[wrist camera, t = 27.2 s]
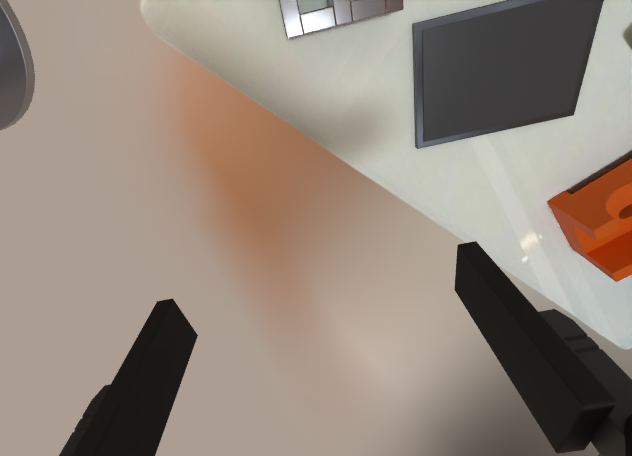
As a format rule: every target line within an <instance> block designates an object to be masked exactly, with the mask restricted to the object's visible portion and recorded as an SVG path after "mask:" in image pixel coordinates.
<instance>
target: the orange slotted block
mask: <svg viewBox="0 0 632 456" xmlns="http://www.w3.org/2000/svg"><path fill="white" fill-rule="evenodd" d="M547 202H548V204H549V206H550V208H551V210H552V212H553V213H554V215H555V217H556V219H557V221H558V223H559V225H560V227H561V228H562V230H563V232H564V234H565V236H566V238H567V240H568V242H569V243H570V245H571V247H572V249H573V250H575V251H576V252H577V253H579V254H580V255H581V256H583V257H584V258H585V259H587V260H588V261H589V262H591V263H592V264H593V265H595V266H596V267H597V268H599V269H600V270H601V271H603V272H604V273H605V274H606V275H608V276H609V277H610V278H612V279H613V280H614V281H616V282H617V281H619V280H621V279H623V278H626V277H628V276H630V275H632V158H631V159H629V160H628V161H626V162H624V163H623V164H621V165H620V166H618V167H616V168H615V169H613V170H611V171H610V172H608V173H606V174H605V175H603V176H601V177H600V178H598V179H596V180H595V181H593V182H592V183H590V184H588V185H587V186H585V187H583V188H582V189H580V190H578V191H577V192H575V193H573V194H570V193H568V192H566V191H563V192H562V193H560V194H559V195H557V196H555V197H554V198H552V199H550V200H549V201H547Z"/></svg>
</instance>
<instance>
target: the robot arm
mask: <svg viewBox="0 0 632 456" xmlns="http://www.w3.org/2000/svg"><path fill="white" fill-rule="evenodd" d="M455 291H456V293H457V294H458V296H459V297H460V299H461V301H462V302H463V304H464V306H465V307H466V309H467V310H468V312H469V314H470V315H471V317H472V318H473V320H474V322H475V323H476V325H477V326H478V328H479V329H480V331H481V333H482V334H483V336H484V338H485V339H486V341H487V343H488V344H489V345H490V347H491V349H492V351H493V352H494V354H495V355H496V357H497V359H498V360H499V362H500V363H501V365H502V367H503V368H504V370H505V371H506V373H507V375H508V376H509V378H510V379H511V381H512V383H513V384H514V386H515V387H516V389H517V391H518V392H519V394H520V395H521V397H522V399H523V400H524V402H525V403H526V405H527V407H528V408H529V410H530V411H531V413H532V415H533V416H534V418H535V420H536V421H537V423H538V424H539V426H540V428H541V429H542V431H543V432H544V434H545V435H546V437H547V439H548V440H549V442H550V444H551V445H552V447H553V448H554V450H555V452H556V453H565V452H572V451H579V450H584V449H585V448H586V446H587V445H588V444H589V442H590V441H591V442H592V443H593V445H594V446H595V448H596V449H597V450H598V452H599V453H600V454H599V456H632V380H631V379H630V378H629V377H628V375H626V373H625V372H623V370H622V369H621V368H620V367H619V366H618V365H617V364H616V363H615V362H614V361H613V360H612V359H611V358H610V357H609V356H608V355H607V354H606V353H605V352H604V351H603V350H602V349H599V346H598V345H597V344H596V343H595V342H594V341H593V340H592V339H591V338H590V337H588V336H587V334H586V333H585V332H584V331H583V330H582V329H581V328H580V327H579V326H578V325H577V324H576V323H575V322H574V321H573V320H572V319H570V318H569V317H567V316H565V315H564V314H562V313H560V312H559V311H557V310H555V309H553V310H547V311H541V312H538V311H537V310H536V309H535V308H534V307H533V306H532V304H531V303H530V302H529V301H528V300H527V299H526V298H525V297H524V296H523V294H522V293H521V292H520V291H519V290H518V289H517V287H516V286H515V285H514V284H513V283H512V282H511V281H510V279H509V278H508V277H507V276H506V275H505V274H504V273H503V272H502V271H501V269H500V268H499V267H498V266H497V265H496V264H495V262H494V261H493V260H492V259H491V258H490V257H489V256H488V255H487V253H486V252H485V251H484V250H483V249H482V248H481V247H480V246H479V244H478V243H477V242H476V241H475V242H469V243H464V244H459V245H458V249H457V264H456V277H455ZM197 336H198V335H197V334H196V332H195V331H194V329H193V328H192V326H191V325H190V323H189V322H188V320H187V319H186V317H185V316H184V314H183V313H182V312H181V310H180V309H179V307H178V306H177V304H176V303H175V301H174V300H173V299H169V300H163V301H157V303H156V305H155V307H154V308H153V310H152V312H151V314H150V316H149V318H148V319H147V321H146V323H145V325H144V326H143V328H142V330H141V332H140V333H139V335H138V337H137V339H136V341H135V342H134V344H133V346H132V348H131V350H130V351H129V353H128V355H127V357H126V358H125V360H124V362H123V364H122V366H121V367H120V369H119V371H118V373H117V375H116V376H115V378H114V380H113V382H112V384H111V385H105V386H104V387H103V388H102V389H101V390H100V391H99V393H98V394H97V395H96V396H95V397H94V398H93V399H92V401H91V403H90V404H89V406H88V407H87V409H86V411H85V413H84V414H83V418H82V419H80V421H79V423H78V424H77V426H76V428H75V432H74V433H72V435H71V436H70V438H69V440H68V441H67V443H66V445H65V446H64V448H63V450H62V452H61V453H60V455H59V456H155V454H156V451H157V448H158V445H159V443H160V440H161V437H162V434H163V431H164V429H165V426H166V423H167V420H168V417H169V415H170V412H171V409H172V406H173V403H174V401H175V397H176V395H177V392H178V389H179V387H180V384H181V381H182V378H183V375H184V372H185V370H186V367H187V364H188V361H189V358H190V355H191V353H192V350H193V347H194V344H195V342H196V339H197Z"/></svg>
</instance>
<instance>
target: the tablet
mask: <svg viewBox="0 0 632 456" xmlns="http://www.w3.org/2000/svg"><path fill="white" fill-rule="evenodd" d="M603 1H604V0H507V1H503V2H499V3H495V4H491V5H487V6H482V7H478V8H474V9H470V10H466V11H462V12H458V13H454V14H450V15H446V16H442V17H438V18H434V19H430V20H426V21H422V22H418V23H414V24H413V62H414V104H415V146H416V148H417V149H419V148H424V147H428V146H433V145H437V144H442V143H447V142H451V141H456V140H461V139H465V138H470V137H474V136H479V135H484V134H488V133H493V132H498V131H502V130H507V129H512V128H516V127H521V126H525V125H530V124H535V123H539V122H544V121H549V120H553V119H558V118H562V117H567V116H572V115H574V112H575V108H576V104H577V100H578V97H579V93H580V89H581V85H582V81H583V77H584V74H585V70H586V66H587V62H588V58H589V54H590V50H591V47H592V43H593V39H594V35H595V31H596V27H597V24H598V20H599V16H600V12H601V8H602V4H603Z"/></svg>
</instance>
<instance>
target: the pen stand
mask: <svg viewBox="0 0 632 456" xmlns="http://www.w3.org/2000/svg"><path fill="white" fill-rule="evenodd" d="M279 2H280V7H281V12H282V16H283V21H284V25H285V30H286V34H287V38H288V39H293V38H297V37H301V36H303V35H304V36H305V35H309V34H313V33H317V32H321V31H324V30H328V29H332V28H336V27H340V26H344V25H348V24H352V23H356V22H360V21H364V20H368V19H372V18H376V17H380V16H384V15H388V14H391V13H394V12H397V11H400V10H403V0H354V1H351V2H350V0H328V6H329V7H327V8H323V9H319V10H315V11H311V12H307V13H304V14H300V13H299V8H298V3H297V0H279Z"/></svg>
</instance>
